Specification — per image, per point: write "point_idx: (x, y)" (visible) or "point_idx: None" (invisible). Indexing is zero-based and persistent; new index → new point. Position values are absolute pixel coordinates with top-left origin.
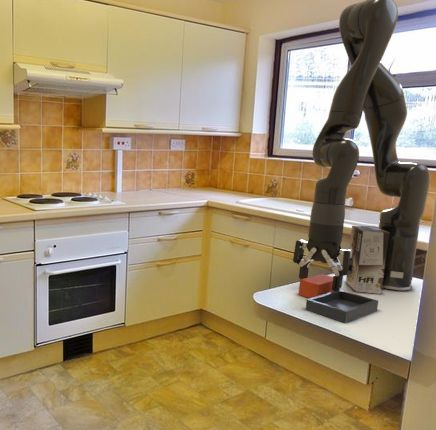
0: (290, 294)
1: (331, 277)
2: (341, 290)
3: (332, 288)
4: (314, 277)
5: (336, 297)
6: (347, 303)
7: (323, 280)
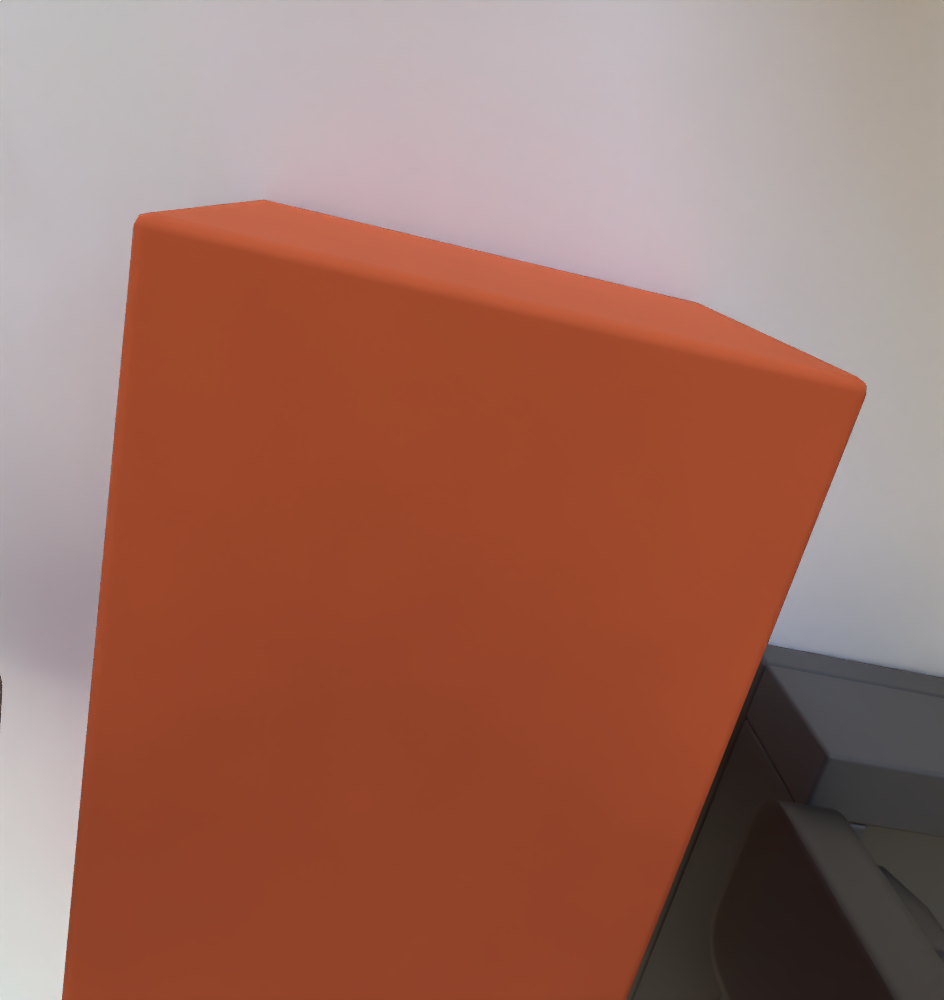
0: (62, 972)
1: (571, 467)
2: (875, 787)
3: (730, 981)
4: (186, 871)
5: None
6: (941, 894)
7: (487, 957)
